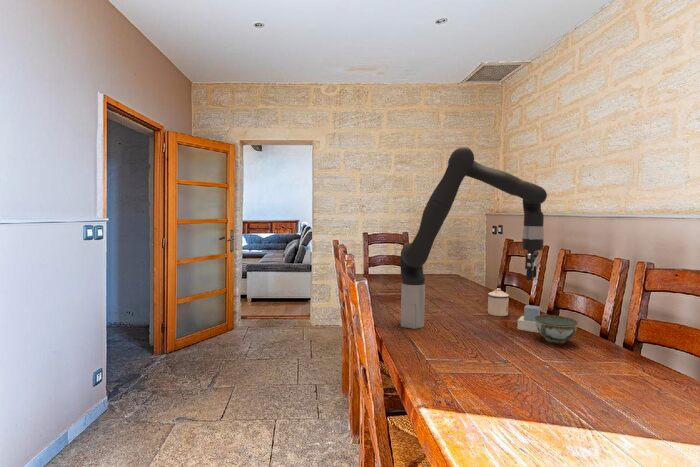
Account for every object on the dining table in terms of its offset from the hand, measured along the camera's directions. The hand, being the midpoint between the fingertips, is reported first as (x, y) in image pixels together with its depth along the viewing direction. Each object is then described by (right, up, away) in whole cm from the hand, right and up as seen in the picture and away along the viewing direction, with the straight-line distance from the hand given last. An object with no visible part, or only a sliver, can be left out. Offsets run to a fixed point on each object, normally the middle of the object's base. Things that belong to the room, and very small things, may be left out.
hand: (531, 278), depth 152 cm
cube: (+1, -16, +1) cm, 16 cm away
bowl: (+2, -21, -15) cm, 26 cm away
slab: (0, -20, +1) cm, 20 cm away
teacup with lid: (-4, -19, +25) cm, 31 cm away
